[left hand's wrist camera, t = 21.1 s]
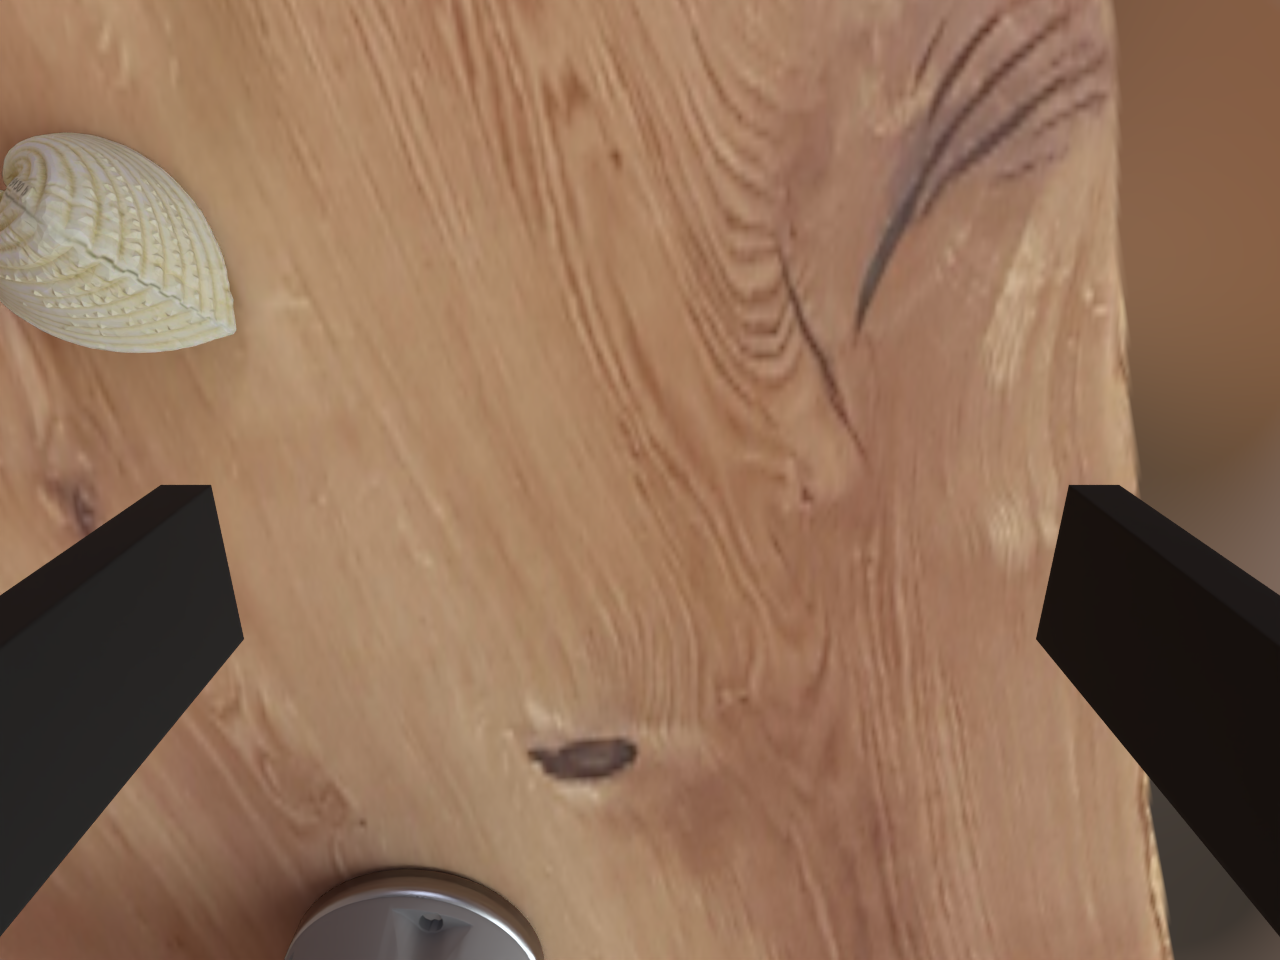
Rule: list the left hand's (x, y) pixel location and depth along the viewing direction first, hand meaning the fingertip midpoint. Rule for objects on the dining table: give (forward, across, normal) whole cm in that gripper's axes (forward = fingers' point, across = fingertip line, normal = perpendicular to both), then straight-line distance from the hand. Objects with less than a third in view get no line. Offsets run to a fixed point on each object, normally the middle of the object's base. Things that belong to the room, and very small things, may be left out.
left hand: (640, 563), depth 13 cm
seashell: (+24, +22, -2) cm, 33 cm away
